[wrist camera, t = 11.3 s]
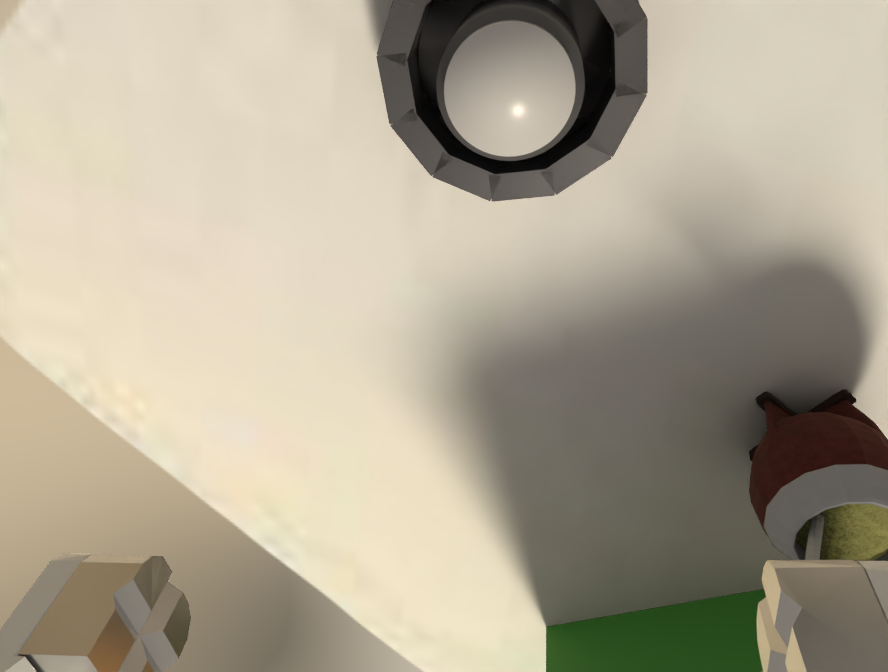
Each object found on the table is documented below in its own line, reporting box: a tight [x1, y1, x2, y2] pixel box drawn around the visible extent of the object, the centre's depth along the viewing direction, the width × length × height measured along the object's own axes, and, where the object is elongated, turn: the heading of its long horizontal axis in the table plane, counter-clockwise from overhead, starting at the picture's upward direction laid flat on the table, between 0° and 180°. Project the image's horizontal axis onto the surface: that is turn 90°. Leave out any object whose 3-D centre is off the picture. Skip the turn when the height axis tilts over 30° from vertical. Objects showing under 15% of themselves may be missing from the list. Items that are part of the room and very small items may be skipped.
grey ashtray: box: [377, 0, 647, 201], centre depth 29 cm, size 10×10×3 cm
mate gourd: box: [749, 390, 888, 672], centre depth 33 cm, size 8×8×15 cm
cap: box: [436, 0, 585, 161], centre depth 28 cm, size 6×6×4 cm
